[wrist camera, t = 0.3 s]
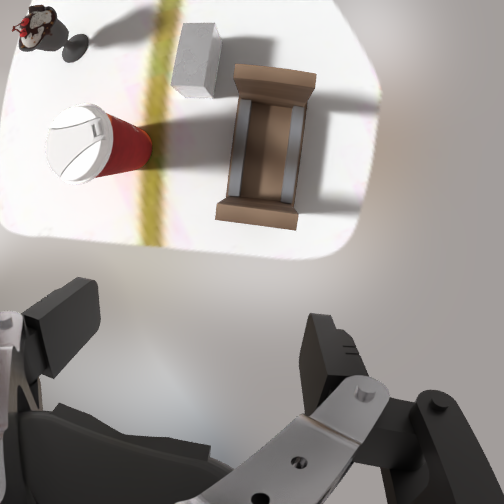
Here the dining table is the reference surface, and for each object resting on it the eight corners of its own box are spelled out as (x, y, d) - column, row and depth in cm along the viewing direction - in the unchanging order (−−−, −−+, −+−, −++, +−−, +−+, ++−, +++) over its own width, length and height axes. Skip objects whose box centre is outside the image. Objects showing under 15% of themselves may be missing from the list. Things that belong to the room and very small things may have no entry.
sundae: (74, 74, 33) (7, 49, 18) (52, 59, 32) (-12, 36, 17) (101, 37, 31) (41, -2, 17) (76, 25, 30) (19, -10, 16)
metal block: (194, 42, 32) (183, 23, 26) (222, 42, 32) (214, 23, 26) (185, 97, 34) (170, 85, 28) (213, 98, 34) (203, 86, 28)
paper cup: (152, 111, 34) (97, 86, 21) (167, 167, 36) (114, 167, 23) (101, 133, 35) (34, 124, 22) (115, 186, 37) (49, 198, 23)
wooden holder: (240, 93, 33) (229, 63, 23) (306, 101, 33) (322, 74, 23) (226, 205, 37) (209, 219, 26) (291, 213, 37) (301, 231, 26)
